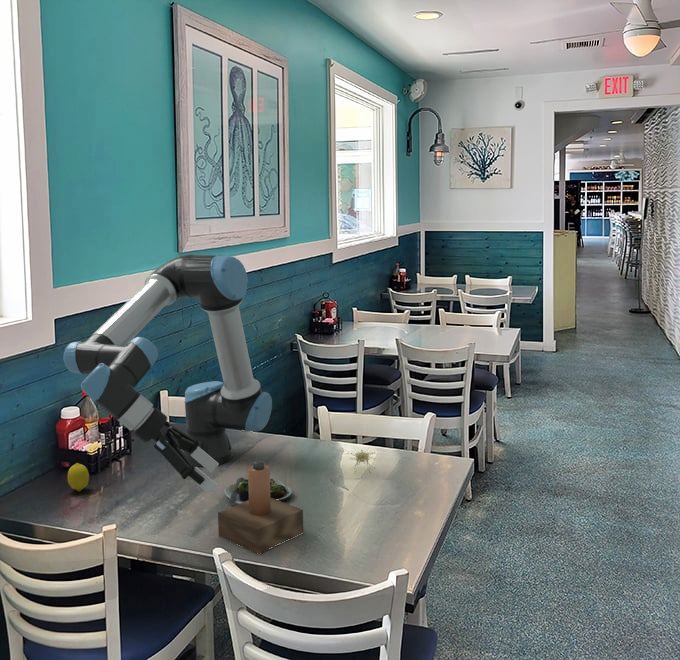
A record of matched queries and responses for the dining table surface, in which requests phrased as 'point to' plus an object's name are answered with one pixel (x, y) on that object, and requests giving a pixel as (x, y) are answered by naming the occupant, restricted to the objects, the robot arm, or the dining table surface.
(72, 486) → the lemon
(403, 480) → the dining table surface
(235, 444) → the dining table surface
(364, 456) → the beige splat shape
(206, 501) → the dining table surface
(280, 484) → the salad plate
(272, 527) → the walnut block
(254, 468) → the sauce bottle
